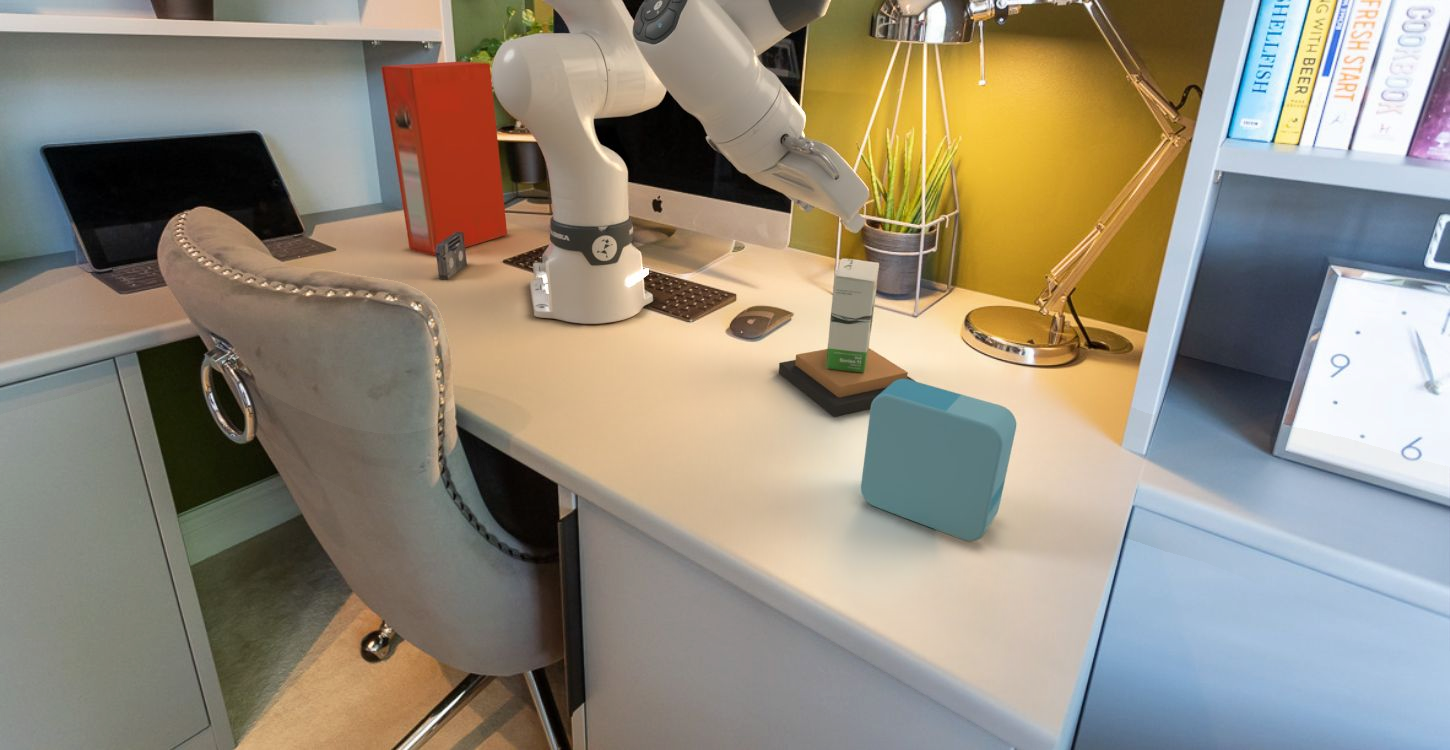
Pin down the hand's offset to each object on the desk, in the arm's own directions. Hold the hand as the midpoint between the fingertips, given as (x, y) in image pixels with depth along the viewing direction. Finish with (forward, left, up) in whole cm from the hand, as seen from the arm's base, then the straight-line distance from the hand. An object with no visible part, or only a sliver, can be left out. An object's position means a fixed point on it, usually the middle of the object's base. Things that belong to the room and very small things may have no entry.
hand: (832, 216), depth 88 cm
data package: (+26, -4, -22) cm, 34 cm away
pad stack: (0, +5, -22) cm, 22 cm away
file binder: (-82, -29, -22) cm, 90 cm away
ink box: (-1, +5, -19) cm, 20 cm away
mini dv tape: (-64, -33, -22) cm, 75 cm away
